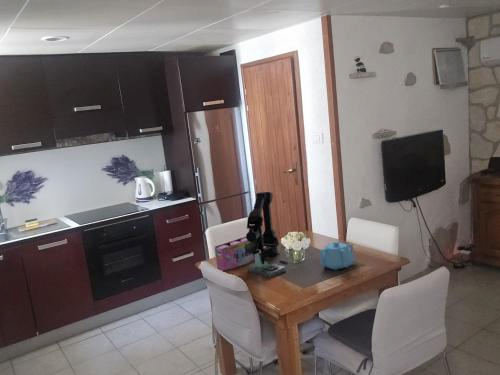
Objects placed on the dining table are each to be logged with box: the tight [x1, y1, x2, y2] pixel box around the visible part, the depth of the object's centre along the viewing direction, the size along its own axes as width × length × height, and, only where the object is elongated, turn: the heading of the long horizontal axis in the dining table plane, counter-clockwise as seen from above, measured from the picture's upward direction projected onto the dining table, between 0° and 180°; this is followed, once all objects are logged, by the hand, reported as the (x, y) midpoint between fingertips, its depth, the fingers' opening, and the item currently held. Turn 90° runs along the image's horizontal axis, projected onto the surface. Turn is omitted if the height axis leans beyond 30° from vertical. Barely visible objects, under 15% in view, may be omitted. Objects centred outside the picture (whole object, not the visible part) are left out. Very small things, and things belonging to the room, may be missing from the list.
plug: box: [254, 251, 266, 267], centre depth 245 cm, size 4×4×8 cm
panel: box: [247, 260, 287, 279], centre depth 242 cm, size 12×18×3 cm, turn 40°
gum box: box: [214, 236, 255, 272], centre depth 259 cm, size 24×8×14 cm, turn 126°
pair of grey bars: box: [272, 259, 289, 266], centre depth 251 cm, size 7×6×1 cm
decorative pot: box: [319, 241, 355, 271], centre depth 236 cm, size 16×16×14 cm
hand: (260, 263), depth 245 cm, fingers closed on plug, 4 cm apart
